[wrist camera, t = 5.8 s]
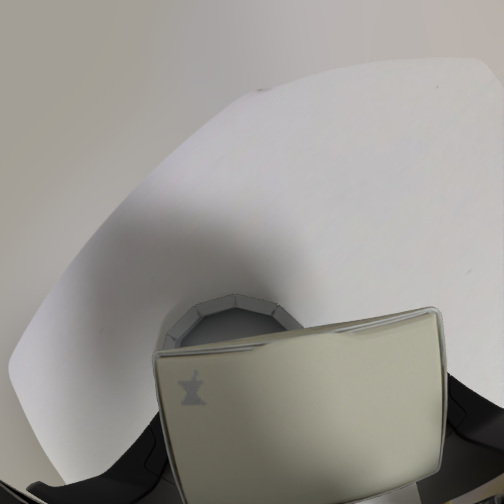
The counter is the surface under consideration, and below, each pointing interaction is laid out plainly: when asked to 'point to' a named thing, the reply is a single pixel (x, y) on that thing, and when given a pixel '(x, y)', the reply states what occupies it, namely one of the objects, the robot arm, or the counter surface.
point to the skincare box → (307, 412)
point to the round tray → (228, 321)
